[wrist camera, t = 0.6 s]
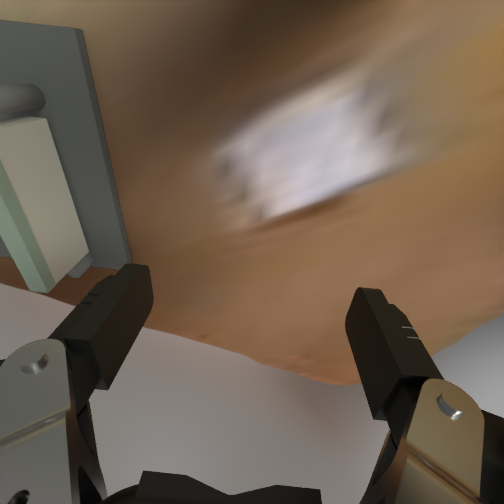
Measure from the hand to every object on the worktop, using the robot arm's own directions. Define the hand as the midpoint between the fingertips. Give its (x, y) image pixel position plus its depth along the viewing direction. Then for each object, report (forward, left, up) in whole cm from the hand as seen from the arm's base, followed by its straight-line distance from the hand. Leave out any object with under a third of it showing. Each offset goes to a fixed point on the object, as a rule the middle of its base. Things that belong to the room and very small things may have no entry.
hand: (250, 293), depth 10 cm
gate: (+5, -21, -17) cm, 28 cm away
